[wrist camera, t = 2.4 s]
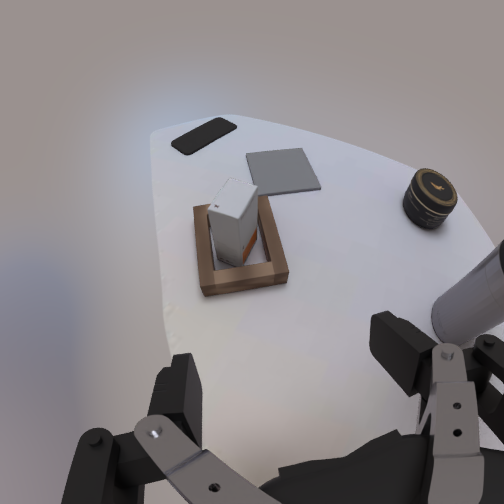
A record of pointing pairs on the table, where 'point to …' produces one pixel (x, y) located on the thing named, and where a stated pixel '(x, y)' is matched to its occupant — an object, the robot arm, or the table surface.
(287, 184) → the rubber mat
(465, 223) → the table surface
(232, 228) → the skincare box
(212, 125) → the phone
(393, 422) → the table surface
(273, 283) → the brown wooden rectangular frame
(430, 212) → the jar
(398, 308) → the table surface
